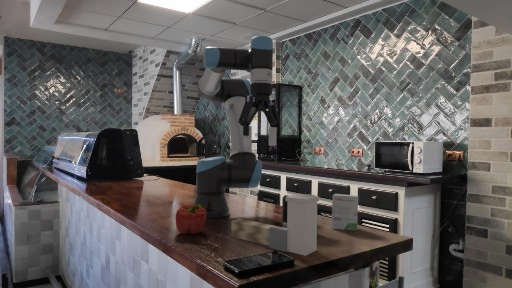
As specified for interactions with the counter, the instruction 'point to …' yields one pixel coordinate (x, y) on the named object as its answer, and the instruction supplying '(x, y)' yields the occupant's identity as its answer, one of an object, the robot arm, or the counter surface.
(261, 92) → the robot arm
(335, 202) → the ink box
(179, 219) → the vegetable
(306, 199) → the grey forked bracket
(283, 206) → the mug
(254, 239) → the rail
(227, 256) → the counter surface
